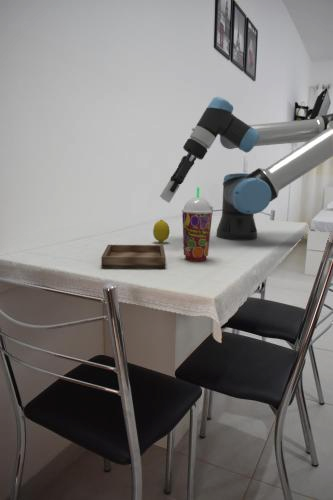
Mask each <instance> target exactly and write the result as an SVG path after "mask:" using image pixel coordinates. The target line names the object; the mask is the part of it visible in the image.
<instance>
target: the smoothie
mask: <svg viewBox="0 0 333 500" xmlns="http://www.w3.org/2000/svg"><path fill="white" fill-rule="evenodd" d="M181 213H182V216H181V217H182V239H183V242H182V243H183V244H182V245H183V255H184V257H185V260H187V261H189V262H204V261H206V260H207V257H208V256H209V249H210V248H209V247H210V240H211V239H210V238H211V231H212V229H211V228H212V219H213V209H212V207H211V205H210V203H209V202H208V200H206V199H205V198H202V197H200V187H199V186H198V187H196V197H193V198H191V199H189V200H188V201H186V203H185V204H184V207H183V209H182V210H181Z"/></svg>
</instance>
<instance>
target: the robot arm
mask: <svg viewBox="0 0 333 500" xmlns="http://www.w3.org/2000/svg"><path fill="white" fill-rule="evenodd" d="M233 111H234V106H233V105H232V104H231V103H230V102H229V101H228V100H227V99H225V98H224V97H221V96H216V97H215V96H214V97H213V98H212V99H211V100H210V103H208V106H206V108H205V110H204V112H203V113H202V115H201V117H200V118H199V120H198V121H197V123H196V125H195V127H192V128H191V131H192V132H191V134H190V135H189V138H187V140H186V142H185V143H184V144H183V150H184V151H185V152H186V153H187V154H186V155H184V156H182V158H181V160H180V162H179V164H178V166H177V168H176V169H175V171H174V173H173V174H172V176H170V180H169V181H168V183H167V184H166V186H165V187H164V189H163V190H162V192H161V194H160V196H159V197H160V198H161V199H162V200H163V201H165V202H167V203H169V204H170V203H171V201H172V199H173V197H174V196H175V194H176V192H177V191H178V190H179V188H180V186H181V184H182V183H184V180H185V179H186V177H187V175H188V174H189V172H190V170H191V169H192V168H193V166H194V165H195V161H196V160H197V159H198V160H201V161H202V160H203V159H204V158H205V156H206V155H207V153H208V149H211V147H212V145H213V143H214V142H215V140H216V138H217V137H218V135H219V142H220V144H221V146H222V147H224V148H225V149H227V150H234V149H239V150H240V151H242V152H244V153H246V154H247V153H249V152H251V151H252V150H253V149H254V147H260V146H262V147H263V146H272V145H283V144H296V143H303V144H302V145H300V146H299V147H297V148H295V149H293V151H291V152H289V153H288V154H286V155H284V156H283V157H281V159H279V160H277V161H276V162H274V163H273V164H271V165H270V166H268V167H267V168H261V167H258V168H256V169H255V170H253V171H252V172H250V173H244V172H243V173H242V172H241V173H238V172H237V173H229V174H228V173H227V174H226V175H225V176H224V177H223V181H222V210H221V217H220V220H219V223H218V225H217V228H216V235H215V236H216V237H217V238H221V239H227V240H236V241H237V240H238V241H239V240H241V241H243V240H244V241H245V240H246V241H247V240H254V239H257V238H258V229H257V225H256V222H255V217H254V215H257V214H259V213H261V212H264V210H265V209H266V208H267V207H268V206H269V204H270V203H271V202H272V201H274V200H275V199H277V198H278V197H279V194H280V193H279V192H280V191H281V190H283V189H284V188H286V187H288V185H290V184H292V183H294V182H295V181H296V180H298V179H299V178H302V177H303V176H304V175H306V174H307V173H308V172H310V171H312V170H314V169H316V168H317V167H318V166H320V165H322V164H324V163H325V162H327V161H328V160H329V159H331V158H332V157H333V113H329V114H325V115H317V116H316V117H315V118H313V119H304V120H302V119H301V120H291V121H283V122H282V121H281V122H270V123H257V124H247V123H245V122H244V121H243V120H241V119H240V118H239V117H236V116H235V115H234V114H233Z"/></svg>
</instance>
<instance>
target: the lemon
mask: <svg viewBox="0 0 333 500" xmlns="http://www.w3.org/2000/svg"><path fill="white" fill-rule="evenodd" d="M170 233H171V232H170V226H169V224H168V223H167V222H166V221H164V220H163V219H160V220H158V221H157V222H155V223H154V226H153V230H152V234H153V237H154V239H155V240H156V241H158V242H159V243H160V244H162V243H164V242H165V241H166V240H168V238H169V236H170Z"/></svg>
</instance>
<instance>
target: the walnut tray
mask: <svg viewBox="0 0 333 500" xmlns="http://www.w3.org/2000/svg"><path fill="white" fill-rule="evenodd" d="M100 258H101V260H100V261H101V269H103V270H109V269H111V270H117V269H118V270H119V269H120V270H123V269H124V270H166V261H167V260H166V253H165V247H164V244H107V246H106V247H105V250H104V251H103V253H102V255H101V257H100Z"/></svg>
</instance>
